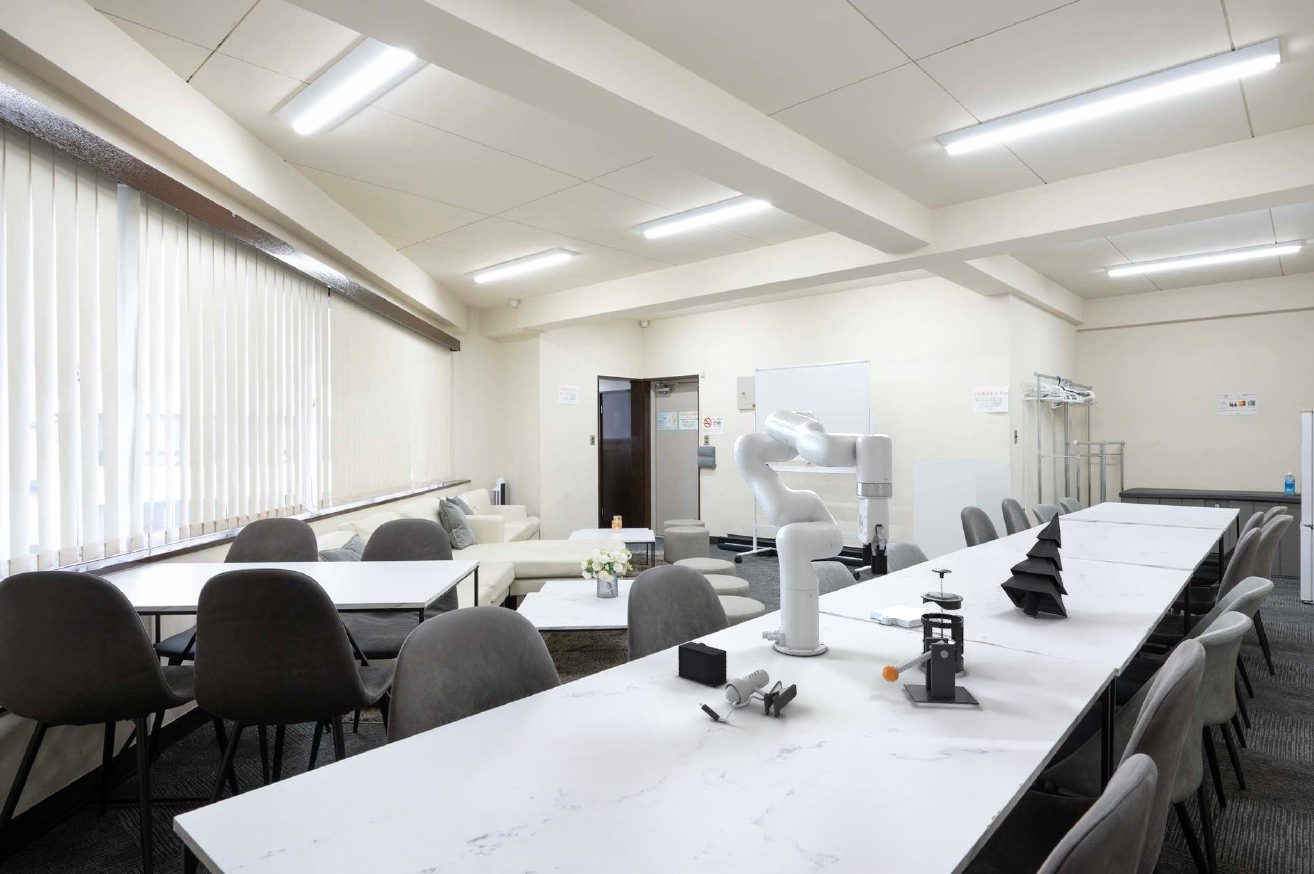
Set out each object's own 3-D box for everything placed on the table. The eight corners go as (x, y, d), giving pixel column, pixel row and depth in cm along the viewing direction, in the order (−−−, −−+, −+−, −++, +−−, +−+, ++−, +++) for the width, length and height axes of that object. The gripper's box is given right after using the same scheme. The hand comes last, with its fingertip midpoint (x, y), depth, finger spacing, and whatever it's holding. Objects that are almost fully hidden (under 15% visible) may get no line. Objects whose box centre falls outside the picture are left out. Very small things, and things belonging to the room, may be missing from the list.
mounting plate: (905, 610, 209) (905, 604, 209) (943, 619, 198) (943, 613, 198) (865, 619, 199) (865, 612, 199) (903, 629, 188) (903, 622, 188)
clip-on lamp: (735, 747, 123) (802, 703, 133) (731, 716, 122) (799, 674, 132) (693, 720, 133) (759, 680, 143) (690, 690, 131) (756, 653, 141)
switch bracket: (915, 706, 134) (915, 646, 134) (903, 689, 143) (903, 633, 143) (979, 709, 133) (978, 648, 133) (963, 692, 142) (963, 635, 142)
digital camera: (730, 681, 149) (730, 649, 149) (715, 687, 145) (715, 655, 145) (694, 670, 156) (694, 639, 156) (678, 676, 152) (678, 645, 152)
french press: (943, 681, 148) (943, 575, 148) (909, 668, 156) (908, 568, 157) (978, 671, 154) (978, 570, 154) (943, 660, 162) (942, 563, 162)
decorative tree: (1065, 629, 199) (1091, 526, 211) (1047, 606, 191) (1076, 501, 204) (1013, 619, 210) (1040, 522, 223) (994, 597, 203) (1024, 497, 215)
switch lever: (889, 687, 138) (881, 672, 138) (885, 681, 141) (877, 667, 141) (952, 656, 136) (944, 642, 136) (947, 651, 139) (939, 637, 140)
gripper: (849, 488, 157) (850, 562, 157) (863, 494, 140) (864, 577, 140) (883, 488, 156) (883, 562, 156) (901, 494, 139) (902, 578, 139)
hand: (874, 569), depth 148 cm, fingers open, 9 cm apart
